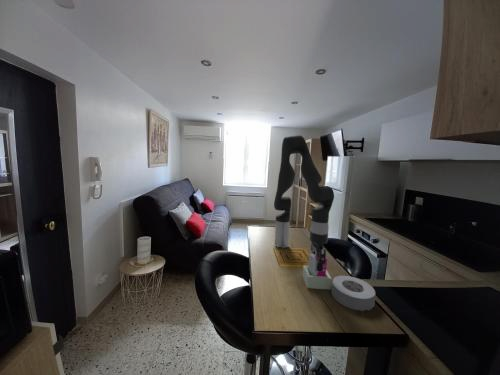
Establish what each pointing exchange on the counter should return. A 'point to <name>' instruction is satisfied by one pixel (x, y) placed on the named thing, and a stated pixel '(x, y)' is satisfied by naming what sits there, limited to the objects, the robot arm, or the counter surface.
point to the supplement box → (316, 266)
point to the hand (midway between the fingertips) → (316, 266)
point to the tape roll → (353, 293)
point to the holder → (316, 280)
